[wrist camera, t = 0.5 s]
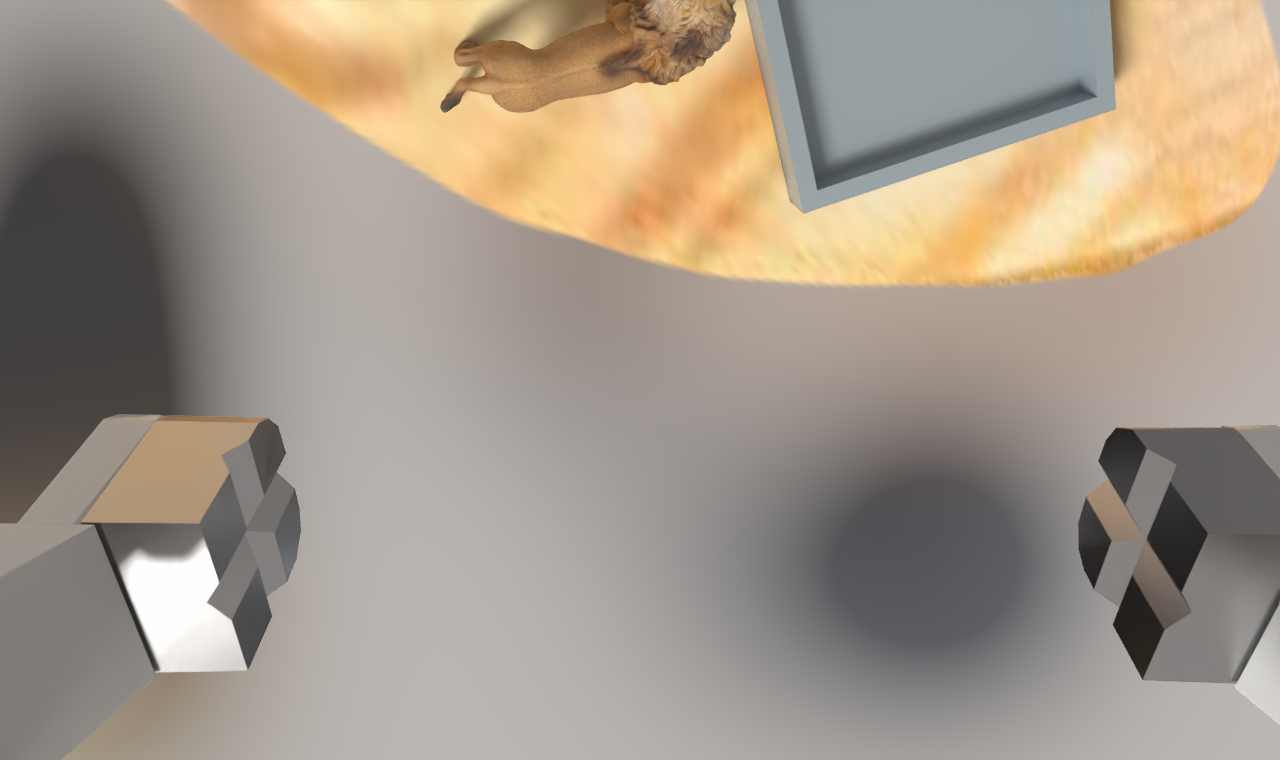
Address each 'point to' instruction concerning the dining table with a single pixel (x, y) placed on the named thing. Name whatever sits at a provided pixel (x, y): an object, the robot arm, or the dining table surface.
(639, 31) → the lion figurine
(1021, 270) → the dining table surface
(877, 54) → the grey tray
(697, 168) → the dining table surface
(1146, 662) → the robot arm
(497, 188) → the dining table surface
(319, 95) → the dining table surface
